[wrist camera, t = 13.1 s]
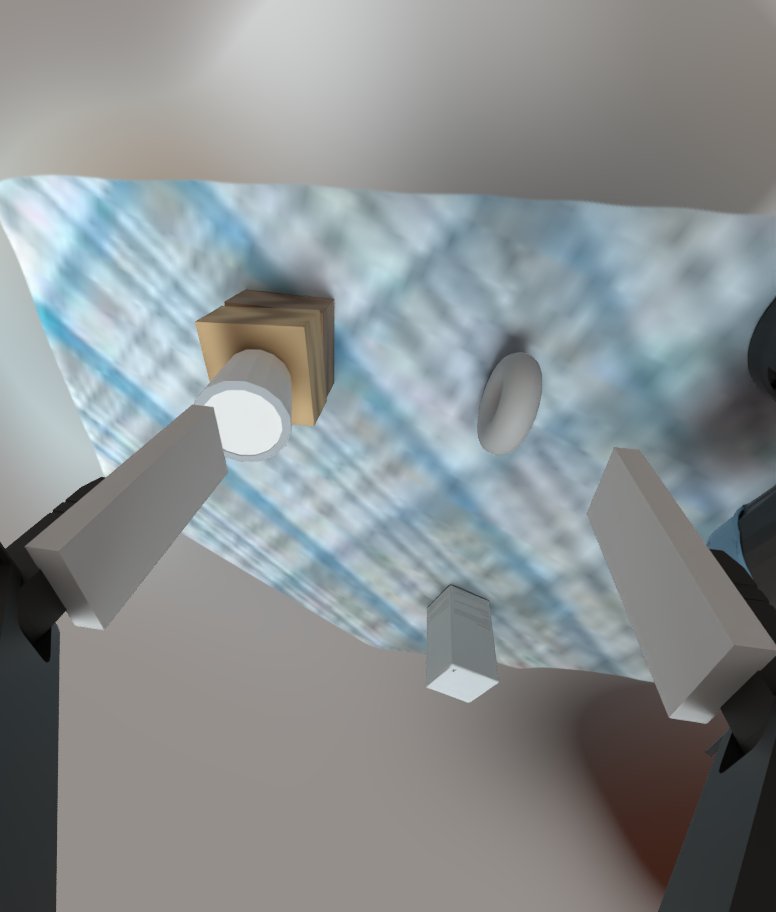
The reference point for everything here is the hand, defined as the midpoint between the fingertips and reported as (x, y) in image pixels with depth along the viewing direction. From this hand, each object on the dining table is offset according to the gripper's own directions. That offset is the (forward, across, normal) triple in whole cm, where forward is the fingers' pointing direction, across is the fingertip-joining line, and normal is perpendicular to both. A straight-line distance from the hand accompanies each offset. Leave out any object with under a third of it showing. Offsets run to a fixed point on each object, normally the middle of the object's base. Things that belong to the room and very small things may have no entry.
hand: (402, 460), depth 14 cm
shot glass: (+20, -14, -7) cm, 25 cm away
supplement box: (+31, +8, -48) cm, 57 cm away
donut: (+30, +8, -10) cm, 33 cm away
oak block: (+25, -14, -7) cm, 29 cm away
